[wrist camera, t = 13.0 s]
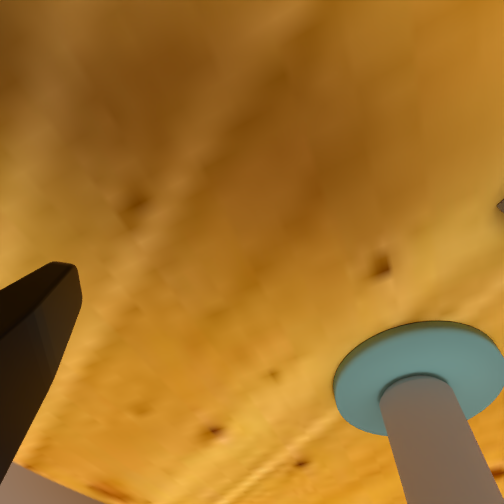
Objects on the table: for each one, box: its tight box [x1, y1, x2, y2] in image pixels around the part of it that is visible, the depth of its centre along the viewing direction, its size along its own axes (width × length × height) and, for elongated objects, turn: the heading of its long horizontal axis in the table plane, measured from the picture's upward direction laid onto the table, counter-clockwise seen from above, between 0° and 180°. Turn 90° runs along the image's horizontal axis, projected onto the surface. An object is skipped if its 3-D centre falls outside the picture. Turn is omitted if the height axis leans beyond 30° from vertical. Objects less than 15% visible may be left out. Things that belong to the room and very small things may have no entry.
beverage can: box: [379, 375, 504, 504], centre depth 24 cm, size 5×5×12 cm
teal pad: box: [333, 321, 504, 436], centre depth 29 cm, size 11×11×1 cm
